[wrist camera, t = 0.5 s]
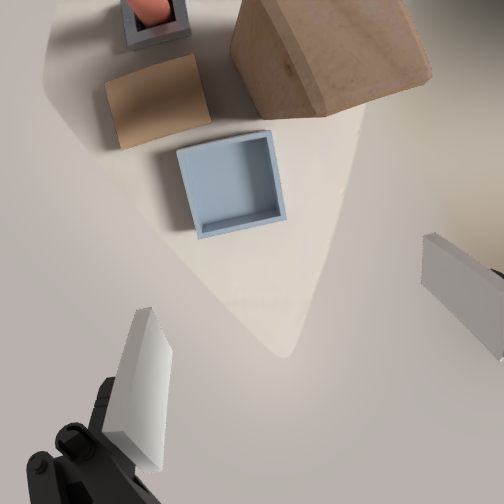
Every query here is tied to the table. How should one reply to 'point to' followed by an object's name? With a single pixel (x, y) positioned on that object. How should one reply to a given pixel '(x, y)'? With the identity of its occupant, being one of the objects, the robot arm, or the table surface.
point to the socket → (155, 34)
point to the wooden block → (325, 54)
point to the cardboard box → (157, 101)
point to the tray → (232, 183)
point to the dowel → (152, 12)
